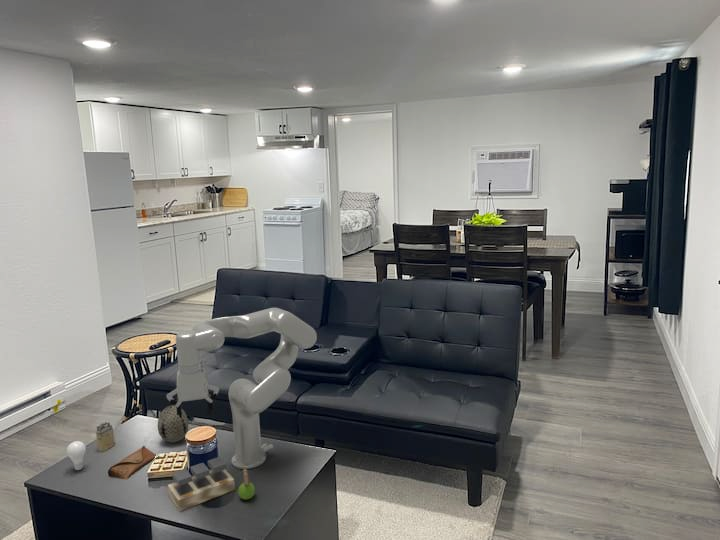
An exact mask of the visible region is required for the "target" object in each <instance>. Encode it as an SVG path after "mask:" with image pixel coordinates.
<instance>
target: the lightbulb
mask: <svg viewBox="0 0 720 540" xmlns="http://www.w3.org/2000/svg"><path fill="white" fill-rule="evenodd" d="M86 451H87V447H86V444H85V442H83V441H81V440H80V441H79V440H75V441H72V442H71V443H69V444H68V446H67V448H66V455H67V456H68V458H69V459H71V462H72V463H73V465H74V470H75V471H80V470H82V469H83V467H84V465H83V460H84V456H85V454H86Z"/></svg>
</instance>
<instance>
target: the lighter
mask: <svg viewBox="0 0 720 540" xmlns="http://www.w3.org/2000/svg"><path fill="white" fill-rule="evenodd" d="M95 432H96V434H95V435H96V442H97V443H96V444H97V452H105V451H107V450H109V449H112V447H114V446H115V445H116V443H115V434H114V427H113V425H112V424H111V423H110V421H109V422H101V423H100V424H99V425H97V426H96V431H95Z"/></svg>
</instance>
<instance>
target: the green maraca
mask: <svg viewBox="0 0 720 540" xmlns="http://www.w3.org/2000/svg"><path fill="white" fill-rule="evenodd" d="M242 477H243V479H242V480H243V481H242V483H241V484H240V485H239V487H238V489H237V493H238V495H239V497H240V498H241V499H242V500H250V499H252V498H253V497H254V495H255V491H256V489H255V486H254V484H253V483H252V482H249V473H248V469H246V468H244V469H242Z"/></svg>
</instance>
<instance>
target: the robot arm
mask: <svg viewBox="0 0 720 540" xmlns="http://www.w3.org/2000/svg"><path fill="white" fill-rule="evenodd" d="M271 332H275V333H278V334H280V341H279V345H278V346H277V348H276V349H275V350H274V351H273V352H272V353H271V354H270V355H268V356H267V357H266V358H265V359H263V361H261V362H260V363H259V364H258V365H257V366H256V367H255V369H254V370H253V373H252V376H253V379H254V381H255V382H256V383H255V382H253V381H251V380H250V379H247V378H238V379H236V380H234V381H233V382H232V383H231V384H230V386H229V388H228V401H229V404H230V410H231V414H232V415H231V416H232V429H233V441H234V451H235V454H234V455H233V456H232V457H231V464H232V466H233V467H235V468H237V469H241V470H243V469H244V468H246V469H247V470H249V469H254V468H257V467H259V466H261V465H263V464H264V463H265V461H267V460H266V459H267V454H266V453H267V452H269V451H272V450H274V445H273V444H269V445H268V443H263V444H262V442H261V426H260V425H261V424H260V413H263V412H264V411H265V410H267V408H269V407H270V406H271V405H272V404H273V403H275V401H277V400H278V399H279V398H280V397H281V396H282V395H284V393H286V391H287V390H288V388H289V386H290V384H291V381H292V377H291V373H290V371H289V370H288V369H290V368H291V367H292V366H293V365H294V363H295V362H296V360H297V357H298V353H299V352H298V351H299V348H300V349H304V350H305V349H307V350H308V349H310V348H312V347H314V345H315V344H316V342H317V339H318V338H317V337H318V336H317V331H316V330H315V328H314V327H312V326H311V325H309V324H308V323H307V322H305V321H303V320H302V319H301V318H299V317H298V316H297V315H295V314H293V313H292V312H290V311H287V310H284V309H282V308H279V307H270V308H265V309H262V310H258V311H254V312H251V313H247V314H243V315H232V316H224V317H223V316H222V317H216V318H212V319H208V320H204V321H201V322H199V323H196V325H194V326H193V327H192V329H191V330H183V331H180V332H178V333H177V334H176V336H175V346H176V354H177V355H176V356H177V363H178V364H177V365H178V370H177V372H176V388H175V389H173V390H172V391H170V392H169V393H167V394H166V399H167V400H168V401H169V403H170V404H172V405H174V406H175V407H176V409H177V415H179V418H182V409H183V407H182V403H183V402H190V401H197V400H203V399H205V400H206V401H207V411H208V414H209V415H210V414H212V411H213V410H214V409H213V402H214V400H215V399H216V398H217V396H218V393H219V391H220V387H218V386H216V385H213V384H209V383H208V376H207V371H206V369H205V368H204V367H207V361H203V360H202V354H201V353H202V352H206V351H207V352H208V351H215V350H217V349H220V348H221V347H222V346H223V345H224V342H225V338H237V339H251V338H255V337H259V336H261V335H265V334H269V333H271ZM257 383H258V384H257ZM209 390H210V391H213V393H212V394H210V393H209ZM176 394H177V399H175V398H173V396H175V395H176Z"/></svg>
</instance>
